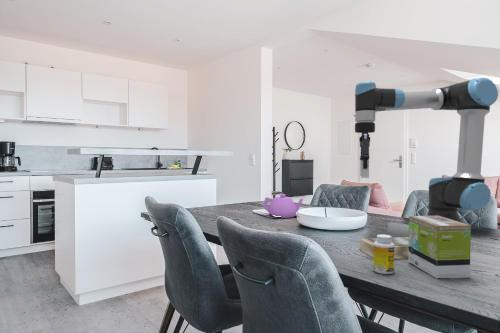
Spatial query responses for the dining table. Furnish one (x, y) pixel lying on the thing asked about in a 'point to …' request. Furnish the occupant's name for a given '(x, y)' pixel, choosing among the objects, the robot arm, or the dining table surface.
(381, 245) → the supplement bottle
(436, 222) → the tea box
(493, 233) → the dining table surface
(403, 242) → the dock
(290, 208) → the teapot
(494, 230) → the dining table surface
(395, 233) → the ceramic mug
